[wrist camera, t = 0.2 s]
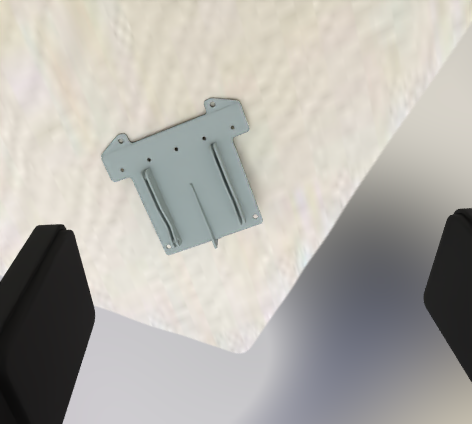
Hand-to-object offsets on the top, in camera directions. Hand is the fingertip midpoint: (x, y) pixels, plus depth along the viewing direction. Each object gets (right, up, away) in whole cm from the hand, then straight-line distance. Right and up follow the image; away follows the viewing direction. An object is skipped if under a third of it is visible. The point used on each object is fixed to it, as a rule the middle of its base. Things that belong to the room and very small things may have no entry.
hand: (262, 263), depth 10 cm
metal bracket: (-5, +5, +34) cm, 34 cm away
